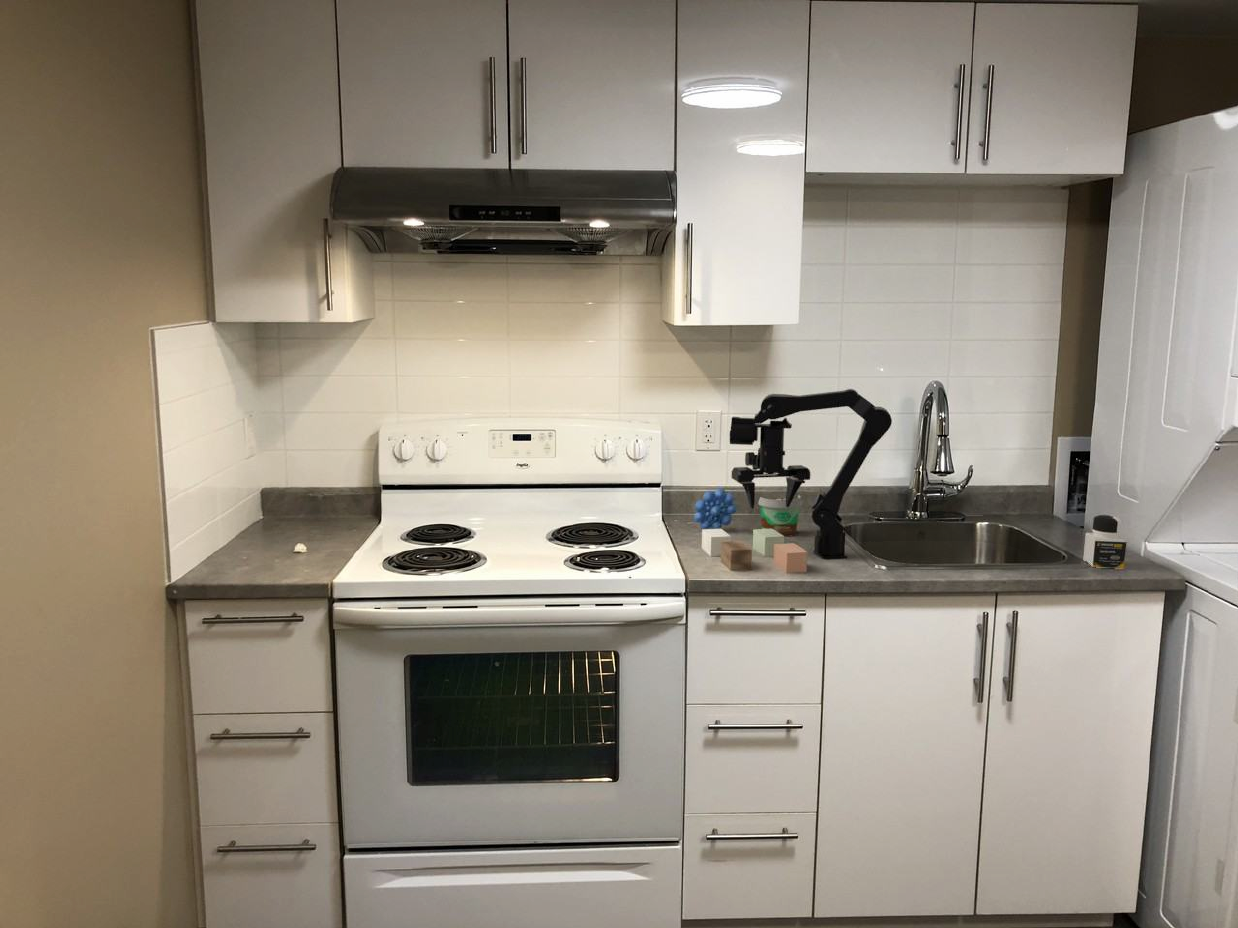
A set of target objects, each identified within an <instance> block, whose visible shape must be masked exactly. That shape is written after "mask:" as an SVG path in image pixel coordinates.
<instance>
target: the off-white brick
mask: <svg viewBox="0 0 1238 928" xmlns="http://www.w3.org/2000/svg"><path fill="white" fill-rule="evenodd" d="M731 538H732V536H731V535H730V534H729V533H728V532H726V531H725V530H724V529H722V528H721V529H711V528H709V529H702V530H701V549H702V550H703V551H704V552H705V553H707V555H708V556H710V557H721V542H732V539H731Z"/></svg>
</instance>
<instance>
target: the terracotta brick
mask: <svg viewBox="0 0 1238 928" xmlns="http://www.w3.org/2000/svg"><path fill="white" fill-rule="evenodd" d="M773 565H774V566H776V567H778V568H779V570H781V571H782V572H784V573H785V574H797V573H807V568H808V566H807V565H808V551H806V550H805V549H804V548H803V547H800V546H799V545H797V544H796V543H790V542H789V543H784V544H774V556H773Z"/></svg>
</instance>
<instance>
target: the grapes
mask: <svg viewBox="0 0 1238 928" xmlns="http://www.w3.org/2000/svg"><path fill="white" fill-rule="evenodd" d="M702 499H703V500H702ZM702 499H699V500H698V501H696V503H695V505H694V509H695V510H696V511H697V512H695V514H694V515H693V521H694V522H695V523H700V524H699V528H700V530H701V531H702V529H722V527H723V526H728V525H730V524H731V523H732V521H733V517H732V515H734V514H736V512H737V510H738V506H737V504H736V503H734V501H735V495H734V494H733V493H731V492H729V493H728V492H727V493H726V490H725V489H724V488H721V487H720V488H717V489H715V492H713V491H711V490H708V491H705V493H704V494H703V496H702Z"/></svg>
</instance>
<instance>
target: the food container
mask: <svg viewBox="0 0 1238 928" xmlns="http://www.w3.org/2000/svg"><path fill="white" fill-rule="evenodd" d="M758 505H759V506H760V517H761V518H760V519H761V529H773V530H775V531H777V532H778V533H780V534H782V535H783V536H784V537H791V536H790V535H792V536H794V534H795V535H796V534H797V528H798V519H799V514H800V509H801V508H800V507H801V506H802V507H803V500H802V497H801V495H797V497H795V498H793V500H792V502H791V504H790V506H789V507H786V497H785V498H784V497H778V498H777V497H776V498H773V499H771V498H764V497H761V496H760V497H759V499H758Z"/></svg>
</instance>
